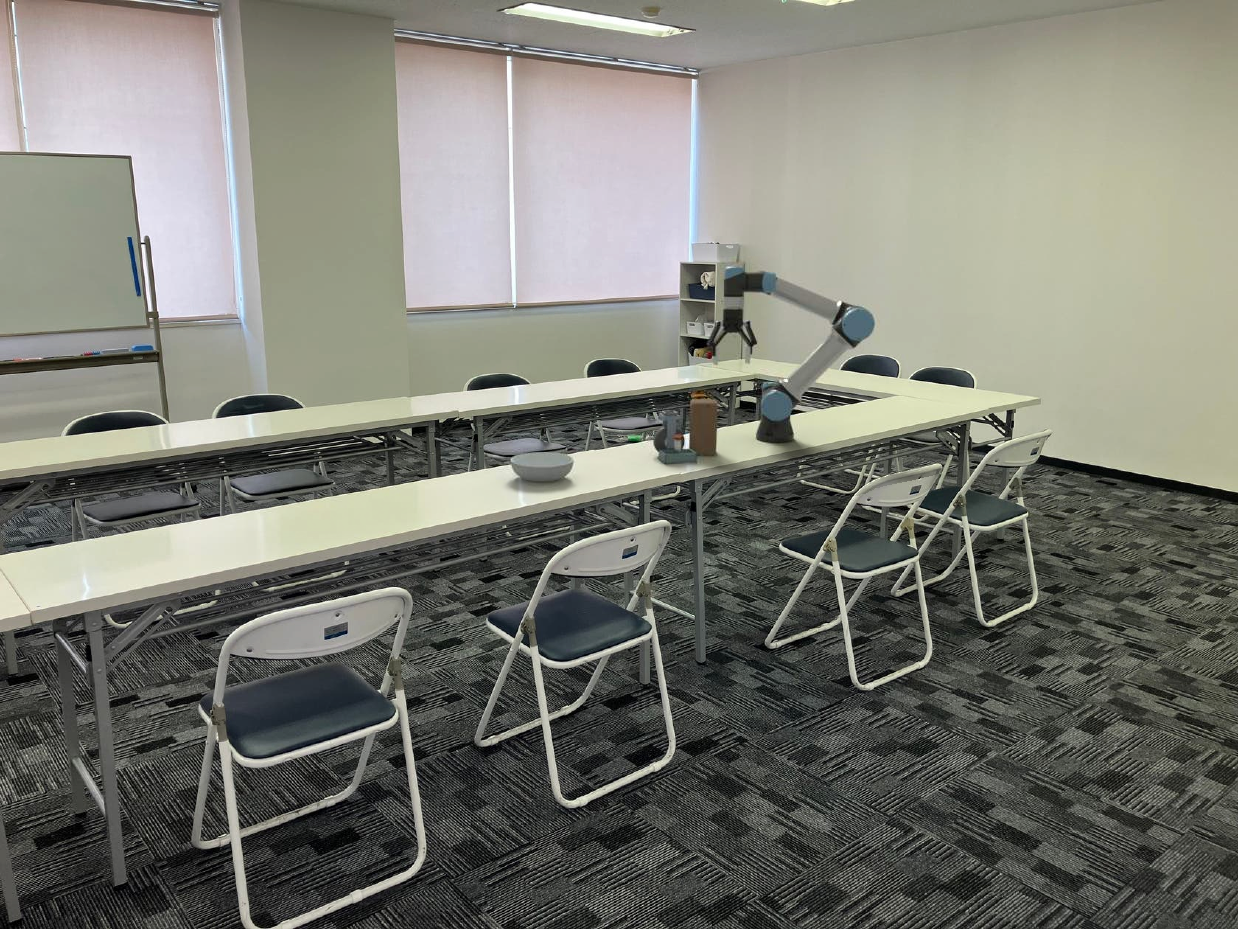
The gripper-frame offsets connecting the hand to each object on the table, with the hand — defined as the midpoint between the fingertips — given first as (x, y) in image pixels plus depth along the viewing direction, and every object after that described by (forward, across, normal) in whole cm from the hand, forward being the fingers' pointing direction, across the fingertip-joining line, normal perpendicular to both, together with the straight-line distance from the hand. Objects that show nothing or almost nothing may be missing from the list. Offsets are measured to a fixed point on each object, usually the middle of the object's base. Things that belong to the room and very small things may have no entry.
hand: (731, 363), depth 358 cm
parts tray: (+31, +31, +22) cm, 49 cm away
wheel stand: (+31, +31, +13) cm, 46 cm away
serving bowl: (+31, +84, +34) cm, 95 cm away
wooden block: (+32, +17, +14) cm, 39 cm away
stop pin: (+31, +31, +22) cm, 49 cm away
